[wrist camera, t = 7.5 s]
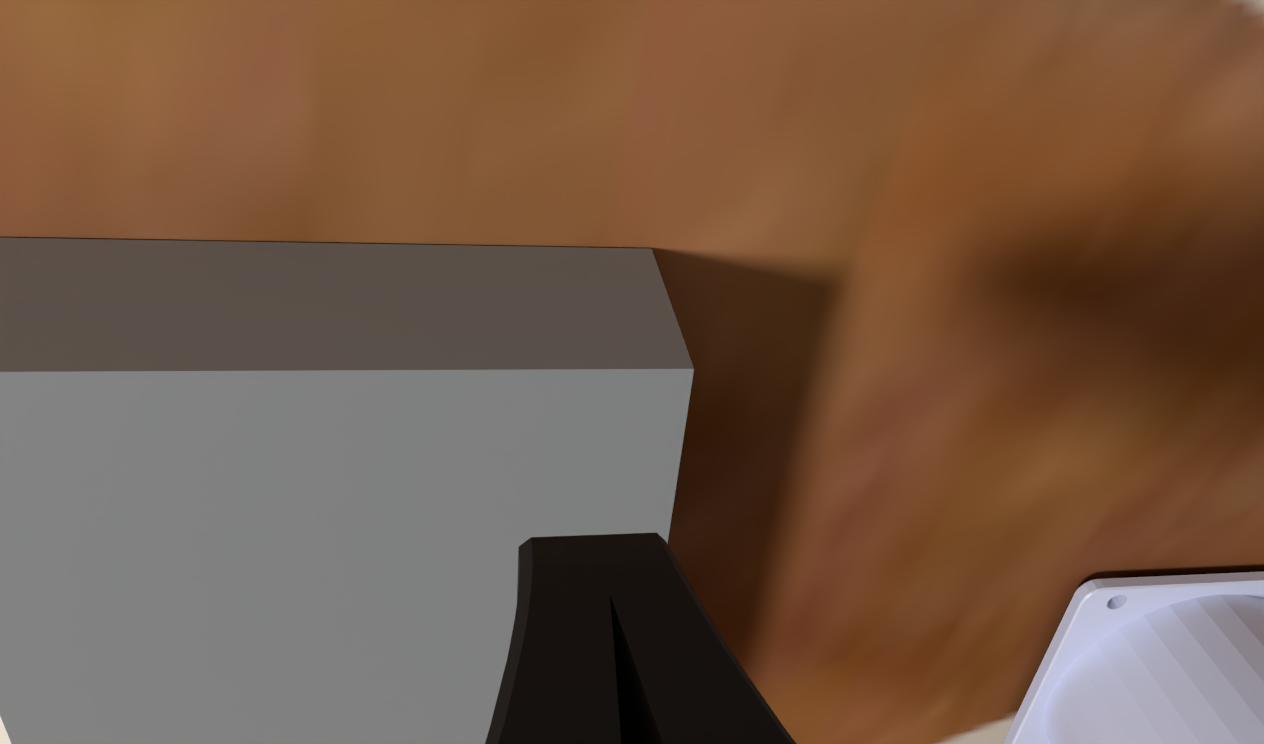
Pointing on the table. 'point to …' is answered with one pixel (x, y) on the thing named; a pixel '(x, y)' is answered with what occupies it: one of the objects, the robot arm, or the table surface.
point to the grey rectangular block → (308, 476)
